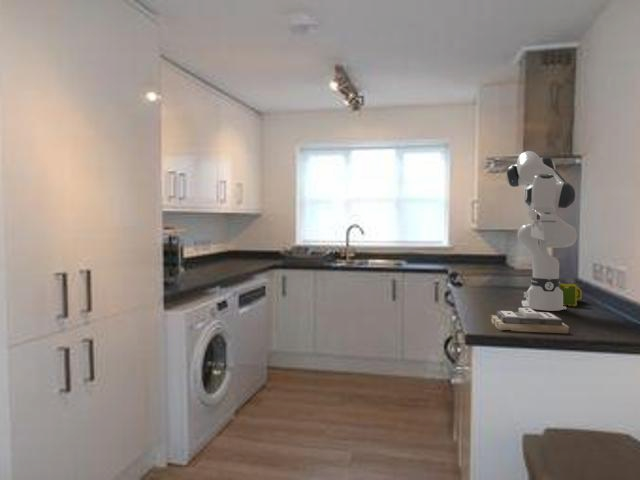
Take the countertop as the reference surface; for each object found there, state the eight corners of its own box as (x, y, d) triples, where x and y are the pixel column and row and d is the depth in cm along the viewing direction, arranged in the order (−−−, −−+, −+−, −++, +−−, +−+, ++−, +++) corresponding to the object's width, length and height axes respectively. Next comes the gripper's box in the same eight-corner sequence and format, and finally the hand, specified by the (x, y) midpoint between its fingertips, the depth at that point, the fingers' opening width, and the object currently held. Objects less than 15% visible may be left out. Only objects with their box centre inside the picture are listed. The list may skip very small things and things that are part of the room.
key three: (537, 317, 193) (537, 311, 193) (548, 317, 192) (549, 312, 192) (545, 323, 182) (545, 317, 182) (558, 323, 181) (558, 317, 181)
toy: (572, 281, 262) (586, 285, 233) (571, 301, 261) (585, 307, 233) (537, 280, 266) (547, 283, 237) (537, 299, 266) (546, 304, 237)
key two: (518, 312, 194) (518, 307, 194) (530, 313, 193) (530, 307, 193) (525, 318, 183) (525, 312, 183) (538, 319, 182) (538, 313, 182)
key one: (499, 315, 195) (499, 310, 195) (511, 316, 194) (511, 310, 194) (505, 321, 184) (506, 315, 184) (518, 322, 183) (518, 316, 183)
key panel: (490, 321, 198) (491, 310, 198) (554, 323, 194) (554, 312, 194) (499, 330, 182) (499, 318, 182) (568, 333, 179) (568, 321, 178)
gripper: (527, 214, 204) (526, 247, 206) (541, 216, 184) (540, 253, 186) (543, 214, 204) (542, 248, 205) (559, 216, 183) (558, 253, 185)
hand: (541, 250), depth 195 cm, fingers closed
